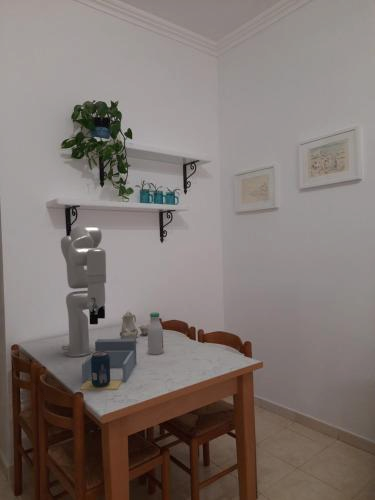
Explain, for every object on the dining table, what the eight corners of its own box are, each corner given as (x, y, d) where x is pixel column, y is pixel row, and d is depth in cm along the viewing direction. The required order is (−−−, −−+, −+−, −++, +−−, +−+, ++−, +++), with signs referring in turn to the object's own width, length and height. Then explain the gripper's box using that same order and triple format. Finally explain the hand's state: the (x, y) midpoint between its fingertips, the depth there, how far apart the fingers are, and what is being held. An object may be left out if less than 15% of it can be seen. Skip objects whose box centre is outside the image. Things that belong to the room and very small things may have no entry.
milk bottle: (161, 355, 175) (159, 314, 174) (146, 354, 176) (144, 314, 176) (165, 350, 182) (164, 311, 182) (150, 350, 184) (149, 311, 183)
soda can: (100, 379, 141) (100, 349, 140) (114, 383, 137) (113, 352, 137) (87, 386, 135) (86, 354, 134) (101, 389, 131) (100, 357, 131)
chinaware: (134, 349, 192) (136, 318, 191) (107, 343, 198) (109, 314, 197) (155, 335, 219) (157, 309, 218) (131, 331, 224) (133, 305, 223)
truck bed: (82, 384, 140) (81, 354, 140) (98, 365, 162) (98, 339, 162) (126, 384, 139) (125, 353, 139) (136, 364, 162) (135, 338, 161)
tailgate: (87, 383, 141) (80, 392, 133) (87, 379, 141) (80, 388, 133) (122, 382, 141) (117, 391, 132) (122, 379, 141) (117, 388, 132)
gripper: (94, 276, 153) (95, 316, 154) (80, 282, 136) (81, 326, 136) (111, 276, 152) (112, 316, 153) (99, 282, 135) (100, 326, 136)
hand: (97, 321), depth 145 cm, fingers open, 9 cm apart
